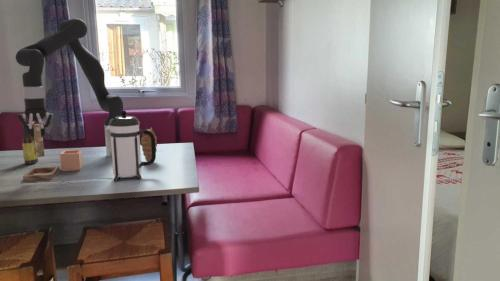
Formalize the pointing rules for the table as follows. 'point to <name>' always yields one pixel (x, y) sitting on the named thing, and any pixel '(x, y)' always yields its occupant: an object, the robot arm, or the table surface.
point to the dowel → (38, 140)
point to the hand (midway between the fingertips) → (38, 136)
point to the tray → (41, 173)
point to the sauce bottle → (29, 147)
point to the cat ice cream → (147, 145)
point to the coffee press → (128, 146)
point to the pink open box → (71, 160)
